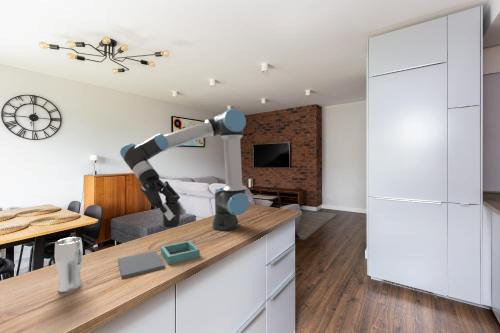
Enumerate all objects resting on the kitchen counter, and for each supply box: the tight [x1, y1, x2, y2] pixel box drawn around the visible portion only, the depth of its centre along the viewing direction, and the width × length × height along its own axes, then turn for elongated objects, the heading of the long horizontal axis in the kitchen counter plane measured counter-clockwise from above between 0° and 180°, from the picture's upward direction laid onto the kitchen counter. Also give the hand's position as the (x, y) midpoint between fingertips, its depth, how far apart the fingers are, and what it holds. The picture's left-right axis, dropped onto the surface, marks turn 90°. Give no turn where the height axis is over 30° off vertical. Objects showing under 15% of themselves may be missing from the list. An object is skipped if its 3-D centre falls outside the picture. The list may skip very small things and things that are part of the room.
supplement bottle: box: [161, 195, 181, 228], centre depth 96 cm, size 7×7×12 cm
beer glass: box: [54, 236, 84, 294], centre depth 74 cm, size 7×7×15 cm
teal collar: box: [160, 240, 201, 266], centre depth 98 cm, size 12×12×3 cm
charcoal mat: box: [117, 250, 166, 279], centre depth 90 cm, size 14×16×1 cm
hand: (178, 215), depth 95 cm, fingers closed on supplement bottle, 7 cm apart
